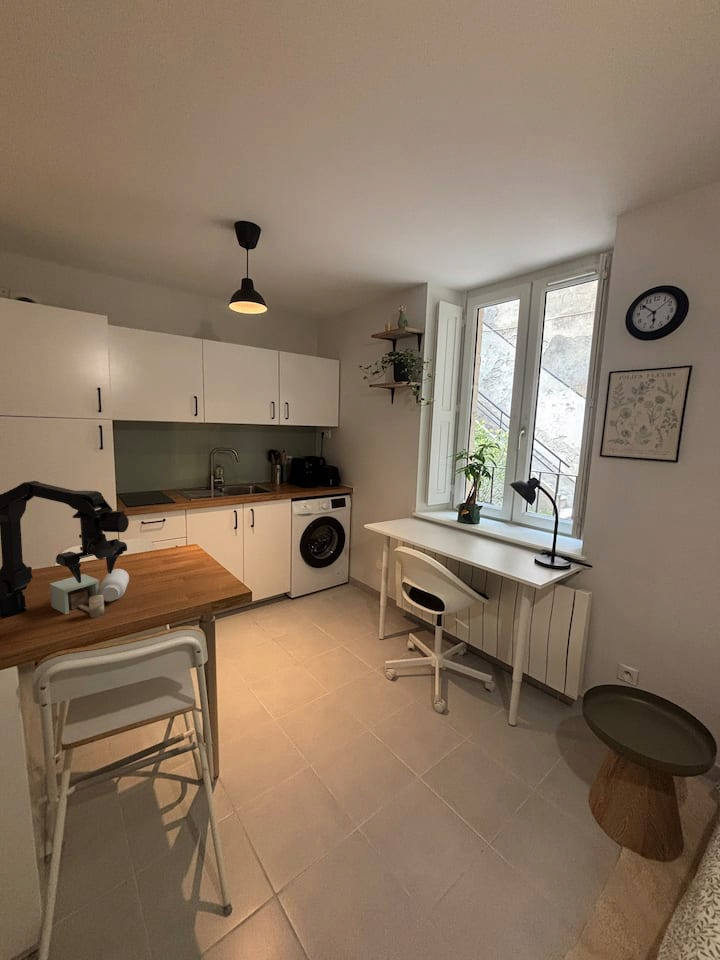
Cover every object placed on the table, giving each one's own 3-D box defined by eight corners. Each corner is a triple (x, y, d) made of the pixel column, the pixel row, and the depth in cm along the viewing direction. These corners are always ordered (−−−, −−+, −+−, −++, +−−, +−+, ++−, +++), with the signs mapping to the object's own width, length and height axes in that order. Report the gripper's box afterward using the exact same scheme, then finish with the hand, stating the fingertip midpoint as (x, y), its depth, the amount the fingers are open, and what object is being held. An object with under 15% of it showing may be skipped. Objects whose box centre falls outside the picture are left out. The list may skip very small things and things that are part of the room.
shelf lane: (66, 614, 129) (64, 590, 128) (51, 607, 134) (49, 583, 133) (100, 602, 138) (99, 580, 137) (85, 595, 143) (83, 573, 142)
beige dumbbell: (92, 619, 126) (91, 601, 126) (64, 605, 135) (63, 589, 134) (108, 613, 131) (107, 596, 130) (80, 600, 139) (79, 584, 138)
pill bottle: (105, 589, 148) (96, 606, 135) (104, 569, 147) (96, 584, 134) (129, 587, 152) (123, 603, 138) (129, 567, 151) (123, 581, 137)
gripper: (72, 542, 114) (76, 594, 116) (135, 528, 130) (138, 574, 132) (53, 536, 119) (57, 585, 121) (116, 523, 135) (118, 567, 138)
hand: (95, 578), depth 128 cm, fingers open, 9 cm apart
